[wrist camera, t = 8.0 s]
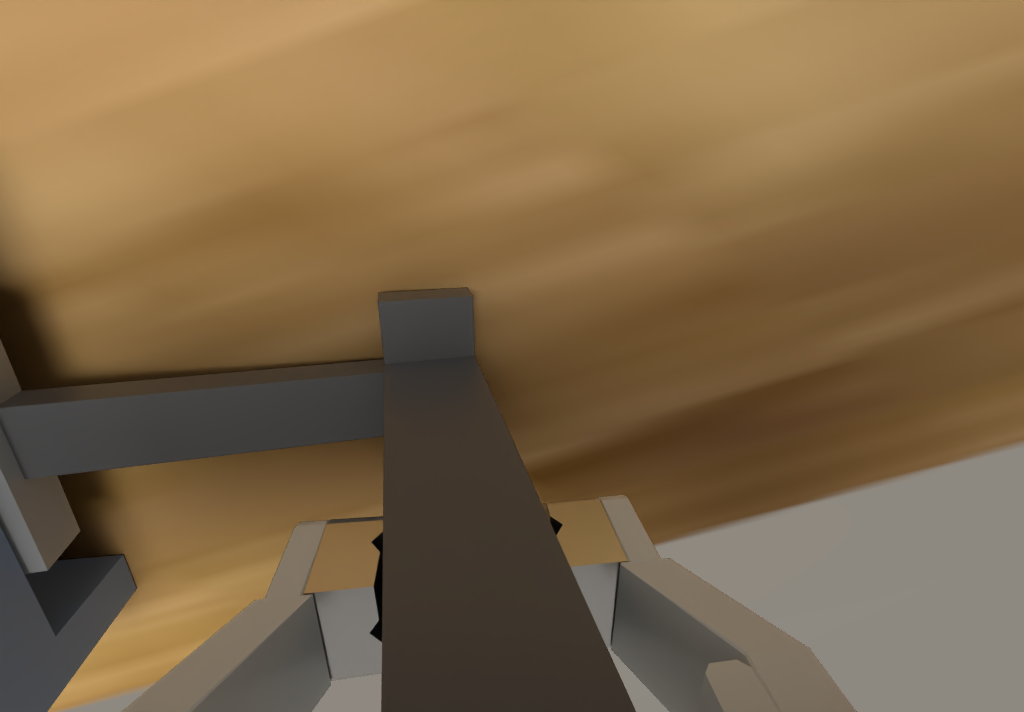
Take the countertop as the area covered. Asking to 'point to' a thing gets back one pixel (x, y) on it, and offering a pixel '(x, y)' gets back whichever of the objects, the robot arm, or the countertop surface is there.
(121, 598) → the blue-grey bridge block
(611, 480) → the countertop surface
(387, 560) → the scraper
